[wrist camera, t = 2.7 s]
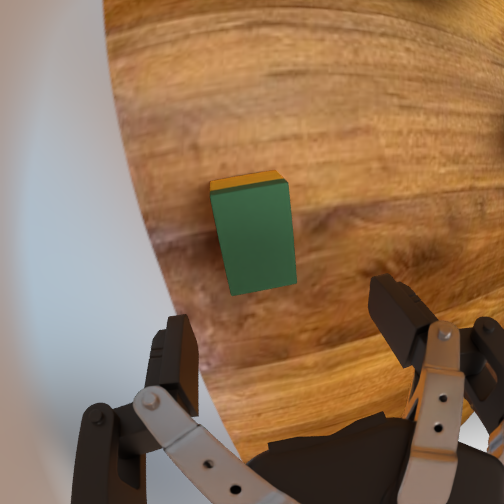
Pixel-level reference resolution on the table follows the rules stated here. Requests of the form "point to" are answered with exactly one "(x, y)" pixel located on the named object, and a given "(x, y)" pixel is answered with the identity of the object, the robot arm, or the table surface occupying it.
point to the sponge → (255, 231)
